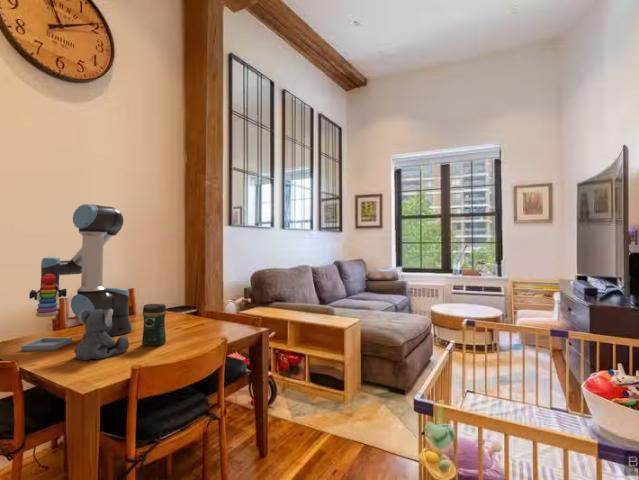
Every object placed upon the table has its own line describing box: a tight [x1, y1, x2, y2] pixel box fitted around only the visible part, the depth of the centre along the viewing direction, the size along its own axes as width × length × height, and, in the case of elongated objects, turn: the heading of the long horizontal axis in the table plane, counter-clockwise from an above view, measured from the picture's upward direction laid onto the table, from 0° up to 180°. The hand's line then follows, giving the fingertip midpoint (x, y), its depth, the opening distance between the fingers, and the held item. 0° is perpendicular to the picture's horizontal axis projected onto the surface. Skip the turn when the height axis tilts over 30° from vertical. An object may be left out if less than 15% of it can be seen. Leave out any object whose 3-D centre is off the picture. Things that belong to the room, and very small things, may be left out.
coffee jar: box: [141, 303, 167, 347], centre depth 164 cm, size 10×8×19 cm
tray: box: [20, 337, 73, 352], centre depth 158 cm, size 13×13×2 cm
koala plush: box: [73, 309, 130, 361], centre depth 147 cm, size 17×18×20 cm
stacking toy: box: [35, 274, 59, 318], centre depth 158 cm, size 8×8×19 cm
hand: (47, 296), depth 154 cm, fingers closed on stacking toy, 6 cm apart
